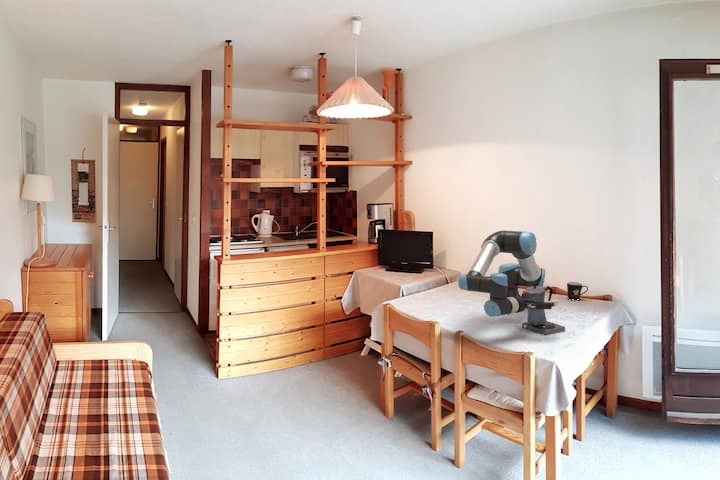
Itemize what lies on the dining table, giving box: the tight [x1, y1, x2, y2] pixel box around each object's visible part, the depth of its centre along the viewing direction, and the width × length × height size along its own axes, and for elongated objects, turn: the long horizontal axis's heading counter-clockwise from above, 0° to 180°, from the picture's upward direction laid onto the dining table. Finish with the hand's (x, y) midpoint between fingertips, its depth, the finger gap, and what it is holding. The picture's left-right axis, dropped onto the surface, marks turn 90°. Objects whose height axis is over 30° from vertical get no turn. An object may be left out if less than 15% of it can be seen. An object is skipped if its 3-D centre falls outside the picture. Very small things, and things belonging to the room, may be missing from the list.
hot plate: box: [521, 320, 566, 336], centre depth 228 cm, size 15×14×2 cm
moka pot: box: [521, 284, 554, 325], centre depth 228 cm, size 10×15×20 cm, turn 100°
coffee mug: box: [566, 281, 589, 300], centre depth 285 cm, size 12×9×10 cm
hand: (545, 299), depth 227 cm, fingers open, 13 cm apart
